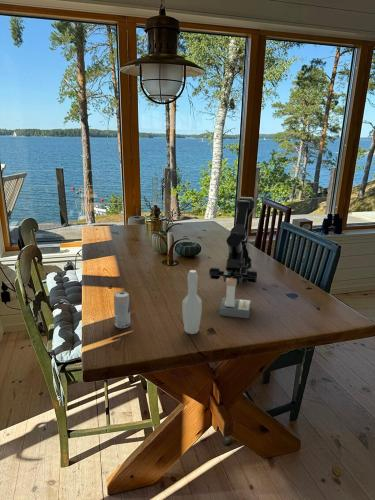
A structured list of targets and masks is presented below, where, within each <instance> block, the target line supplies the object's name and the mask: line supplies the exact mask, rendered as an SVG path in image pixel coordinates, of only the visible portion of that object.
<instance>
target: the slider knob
mask: <svg viewBox="0 0 375 500" xmlns="http://www.w3.org/2000/svg"><path fill="white" fill-rule="evenodd" d="M236 284H237V279H234V278H227V279H226V282H225V286H226V293H225V294H226V295H225V298H226V300H225V306H229V307H235V303H236V300H235V299H236V298H235V297H236V296H235V295H236V289H235V287H236ZM236 288H237V287H236Z"/></svg>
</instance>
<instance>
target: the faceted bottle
mask: <svg viewBox="0 0 375 500" xmlns="http://www.w3.org/2000/svg"><path fill="white" fill-rule="evenodd" d="M186 279H187V295H186V296H185V297H184V298H183V300H182V302H181V303H182V306H181V307H182V309H181V312H182V320H183V326H184V327H183V329H184V332H186V334H190V335H194V334H198V332H199V330H200V324H201V320H202V319H201V318H202V317H201V316H202V310H203V305H202V304H203V301H202V299H201V297H200V296H199V295H198V281H199V276H198V271H197V270H195V269H194V270H193V269H190V270H189V271H188V274H187V276H186Z"/></svg>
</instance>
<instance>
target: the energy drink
mask: <svg viewBox="0 0 375 500" xmlns="http://www.w3.org/2000/svg"><path fill="white" fill-rule="evenodd" d="M130 307H131V306H130V294H129V292H127V291H124V290H123V291H121V290H120V291H117V292H115V293H114V294H113V308H114V326H115V327H116V328H118V329H126V328H129V326H131V308H130Z"/></svg>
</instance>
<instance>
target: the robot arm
mask: <svg viewBox="0 0 375 500" xmlns="http://www.w3.org/2000/svg"><path fill="white" fill-rule="evenodd" d="M235 200H236V202H235V208H236V209H237V214H236V219H235V225H234V226H233V227H232V228H231V229H230V233H229V234H228V236H227V238H226V247H227V251H228V255H227V258H226V264H225V270H223V271H222V270H221V268H220V267H212V266H211V267H210V268H209V270H208V275H209V279H210V280H220V278H221V277H222V278H223V282H224V283H226V279H227V278H234V279H237V284H236V287H235V290H236V289H237V287H238V286H239V285H240V284H243V282H245V281H247V282H248V283H250V284H251V283H254V284H256V283H257V282H258V272H257V270H250V269H252V263H253V261H252V257H251V255H250V250H249V249H248V242H249V239H250V238H249V236H248V235H249V225H250V217H251V215H252V214H253V212H254V209H255V208H256V199H254V197H251V196H250V197H249V196H247V197H246V196H240V197H239V198H238V199H235Z"/></svg>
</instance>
